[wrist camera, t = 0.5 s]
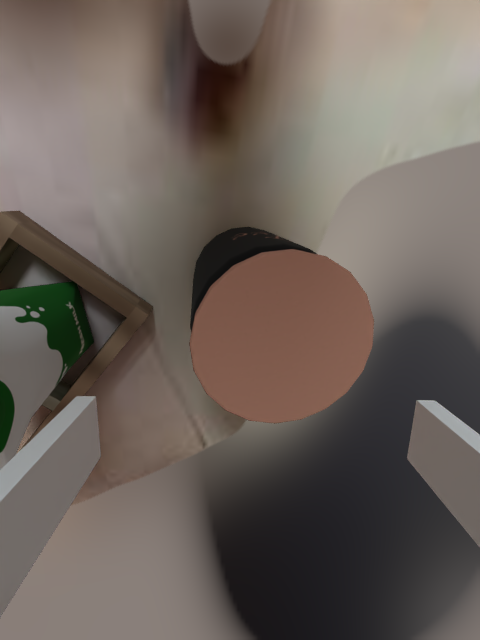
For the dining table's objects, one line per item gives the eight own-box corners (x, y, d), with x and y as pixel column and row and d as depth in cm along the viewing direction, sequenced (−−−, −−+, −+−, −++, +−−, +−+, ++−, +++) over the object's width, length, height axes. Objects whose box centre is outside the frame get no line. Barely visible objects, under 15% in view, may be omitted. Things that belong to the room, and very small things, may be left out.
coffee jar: (310, 269, 35) (411, 328, 19) (248, 340, 37) (289, 451, 21) (236, 203, 32) (279, 203, 15) (173, 284, 34) (149, 364, 17)
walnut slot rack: (19, 210, 30) (0, 211, 27) (152, 306, 35) (148, 315, 32) (-117, 417, 35) (-144, 435, 32) (15, 476, 40) (1, 496, 37)
